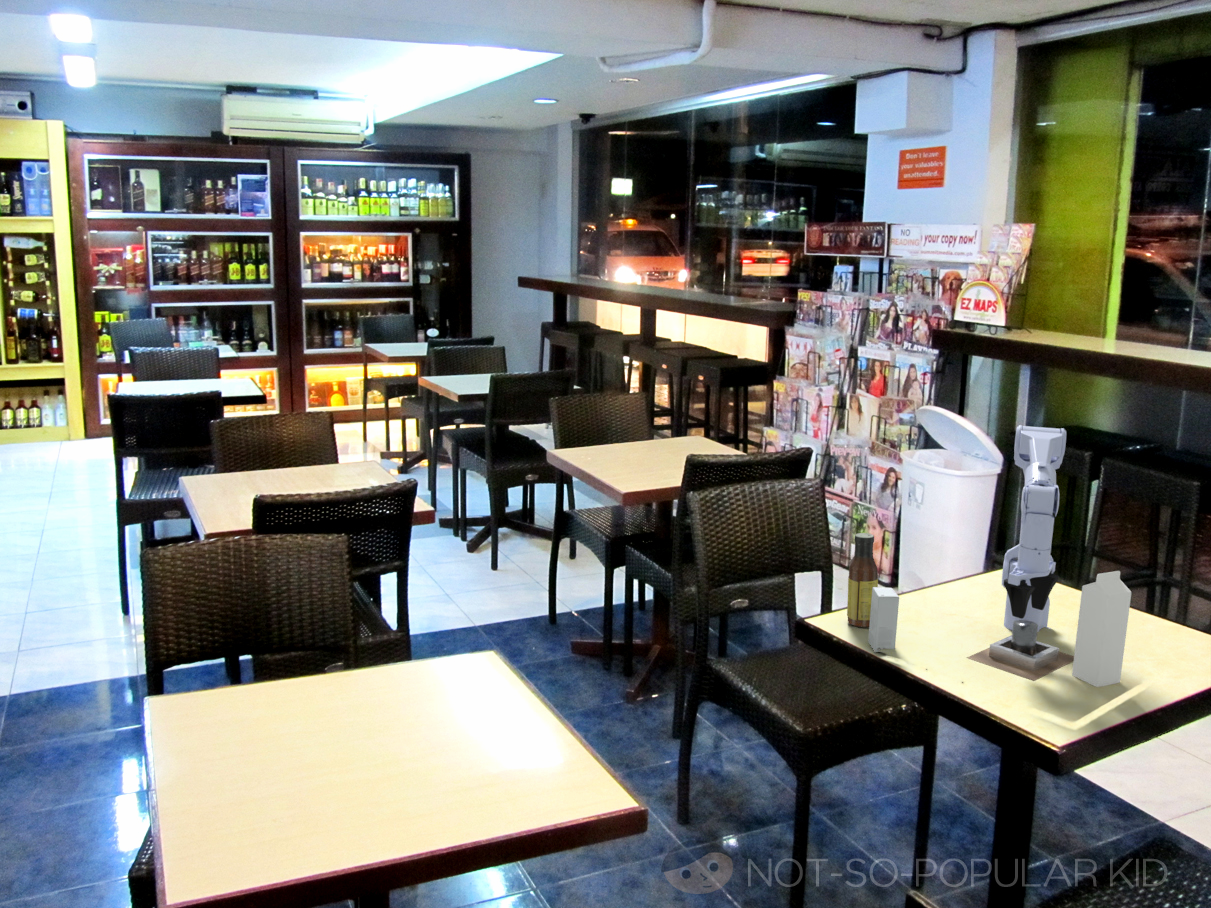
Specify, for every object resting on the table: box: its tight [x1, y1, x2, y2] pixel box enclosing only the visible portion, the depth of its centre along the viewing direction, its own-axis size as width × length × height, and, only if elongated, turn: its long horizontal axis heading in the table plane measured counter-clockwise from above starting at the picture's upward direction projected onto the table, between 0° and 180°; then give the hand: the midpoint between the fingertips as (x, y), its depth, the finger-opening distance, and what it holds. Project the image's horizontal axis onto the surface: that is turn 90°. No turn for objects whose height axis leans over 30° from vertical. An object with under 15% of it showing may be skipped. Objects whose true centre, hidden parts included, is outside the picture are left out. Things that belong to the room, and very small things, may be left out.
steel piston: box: [1011, 620, 1038, 656], centre depth 209 cm, size 4×4×7 cm
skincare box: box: [867, 586, 900, 653], centre depth 214 cm, size 6×4×12 cm
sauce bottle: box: [846, 532, 879, 629], centre depth 227 cm, size 7×6×20 cm
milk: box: [1071, 570, 1132, 688], centre depth 198 cm, size 6×6×22 cm
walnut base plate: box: [966, 647, 1074, 682], centre depth 209 cm, size 18×14×1 cm
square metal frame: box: [989, 634, 1060, 671], centre depth 209 cm, size 9×9×2 cm
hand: (1027, 612), depth 207 cm, fingers open, 7 cm apart
